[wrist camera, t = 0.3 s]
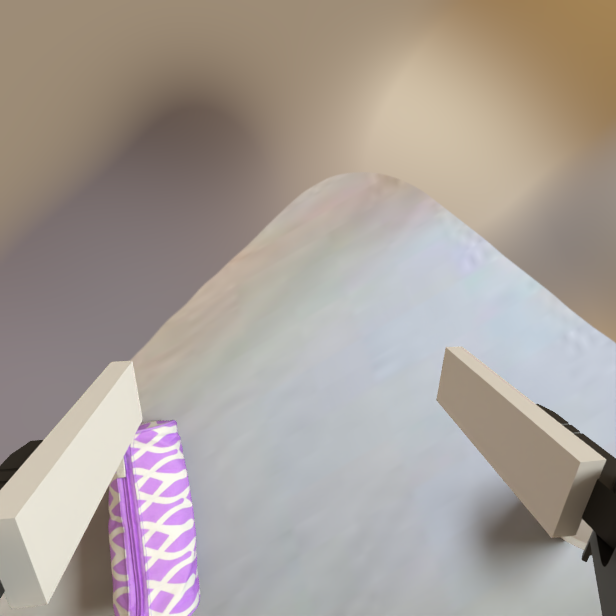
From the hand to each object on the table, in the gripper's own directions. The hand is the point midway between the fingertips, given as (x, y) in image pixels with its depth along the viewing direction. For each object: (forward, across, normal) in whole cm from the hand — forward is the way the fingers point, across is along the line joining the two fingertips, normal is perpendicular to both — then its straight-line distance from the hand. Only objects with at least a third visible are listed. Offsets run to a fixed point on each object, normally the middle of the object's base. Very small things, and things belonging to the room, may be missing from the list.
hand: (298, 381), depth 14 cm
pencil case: (+22, +15, +31) cm, 41 cm away
